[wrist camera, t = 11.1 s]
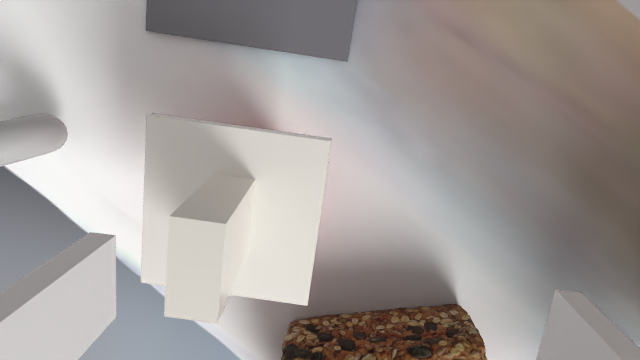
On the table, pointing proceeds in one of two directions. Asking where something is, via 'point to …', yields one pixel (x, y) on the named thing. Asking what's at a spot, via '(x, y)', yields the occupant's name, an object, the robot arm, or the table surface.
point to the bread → (387, 336)
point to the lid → (229, 213)
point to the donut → (30, 137)
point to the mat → (261, 23)
